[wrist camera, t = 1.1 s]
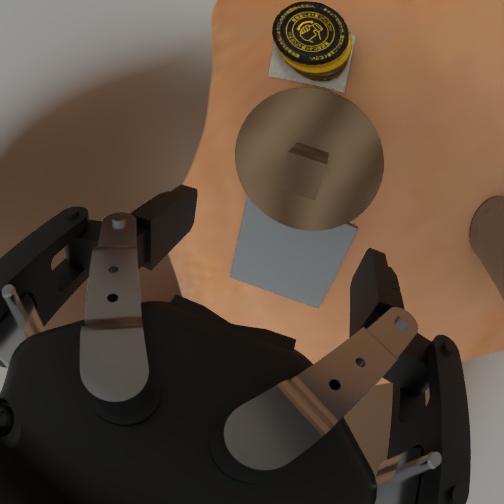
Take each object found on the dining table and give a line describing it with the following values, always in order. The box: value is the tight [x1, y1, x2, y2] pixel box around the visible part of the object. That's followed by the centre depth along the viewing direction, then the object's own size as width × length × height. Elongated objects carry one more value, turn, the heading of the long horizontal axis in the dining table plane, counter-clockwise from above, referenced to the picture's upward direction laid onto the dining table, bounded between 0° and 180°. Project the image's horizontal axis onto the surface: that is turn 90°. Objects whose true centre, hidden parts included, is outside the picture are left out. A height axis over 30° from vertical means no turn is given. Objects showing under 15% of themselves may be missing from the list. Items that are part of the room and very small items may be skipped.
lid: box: [235, 87, 384, 231], centre depth 22 cm, size 14×14×6 cm
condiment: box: [268, 1, 355, 93], centre depth 18 cm, size 7×8×12 cm
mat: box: [230, 196, 358, 308], centre depth 36 cm, size 14×14×1 cm
